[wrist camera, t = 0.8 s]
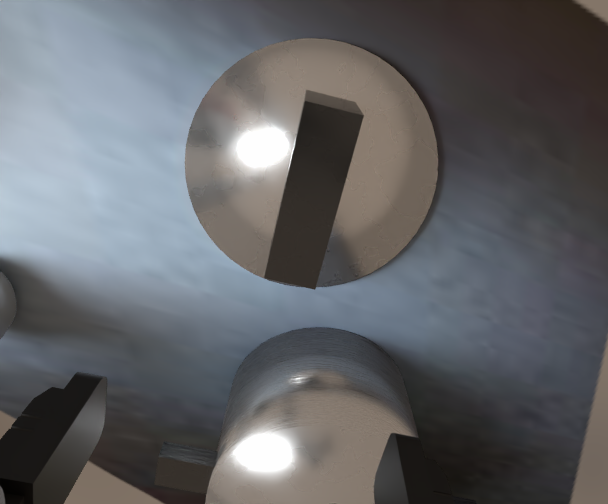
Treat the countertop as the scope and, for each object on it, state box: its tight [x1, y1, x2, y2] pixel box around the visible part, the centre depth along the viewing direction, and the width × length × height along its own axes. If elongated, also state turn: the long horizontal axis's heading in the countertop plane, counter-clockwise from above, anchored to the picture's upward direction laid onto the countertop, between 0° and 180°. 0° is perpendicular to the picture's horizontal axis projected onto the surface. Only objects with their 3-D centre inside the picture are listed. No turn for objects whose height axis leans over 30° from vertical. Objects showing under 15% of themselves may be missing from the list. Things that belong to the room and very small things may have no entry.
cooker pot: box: [154, 327, 476, 504], centre depth 35 cm, size 14×21×10 cm
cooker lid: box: [185, 38, 438, 289], centre depth 29 cm, size 16×16×6 cm
